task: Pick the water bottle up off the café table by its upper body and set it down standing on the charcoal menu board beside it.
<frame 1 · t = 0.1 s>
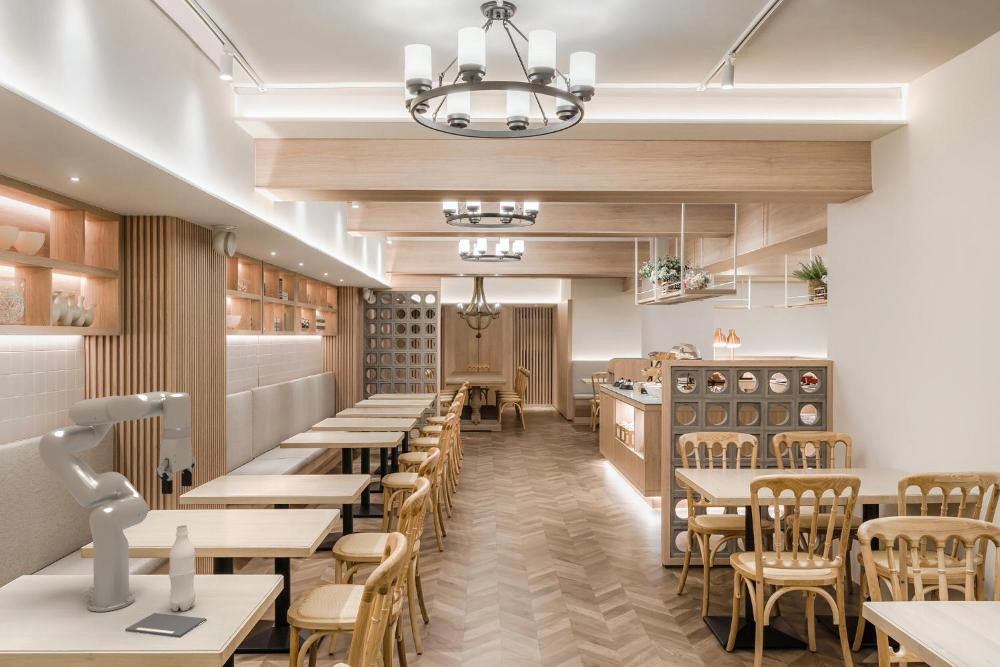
hand: (177, 489, 200), 37 cm above the table, tool pointing down, fingers open, 9 cm apart
menu board: (166, 625, 189), on the table
water bottle: (182, 608, 201), on the table
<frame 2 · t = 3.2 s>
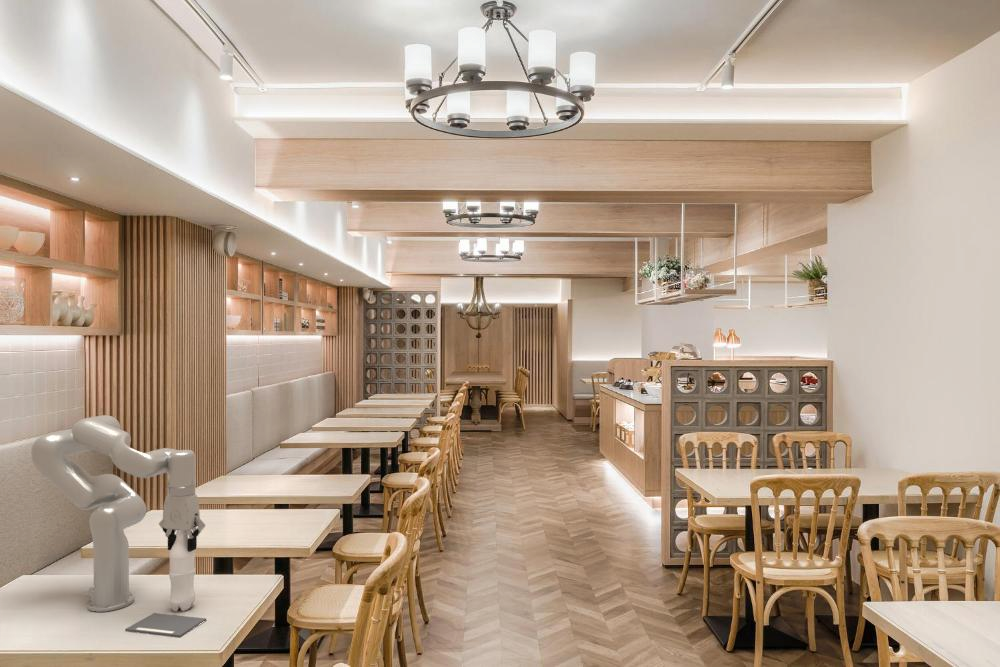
hand: (182, 549, 201), 18 cm above the table, tool pointing down, fingers closed on water bottle, 6 cm apart
water bottle: (182, 608, 201), on the table, touching gripper
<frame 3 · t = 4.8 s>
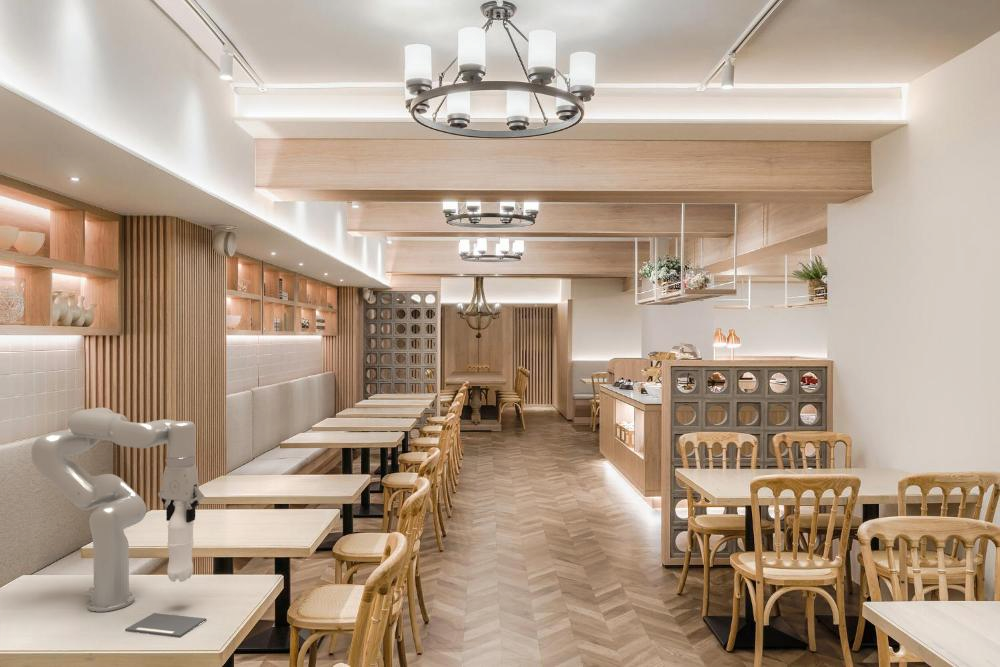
hand: (180, 519, 202), 27 cm above the table, tool pointing down, fingers closed on water bottle, 6 cm apart
water bottle: (180, 579, 202), point 9 cm above the table, touching gripper
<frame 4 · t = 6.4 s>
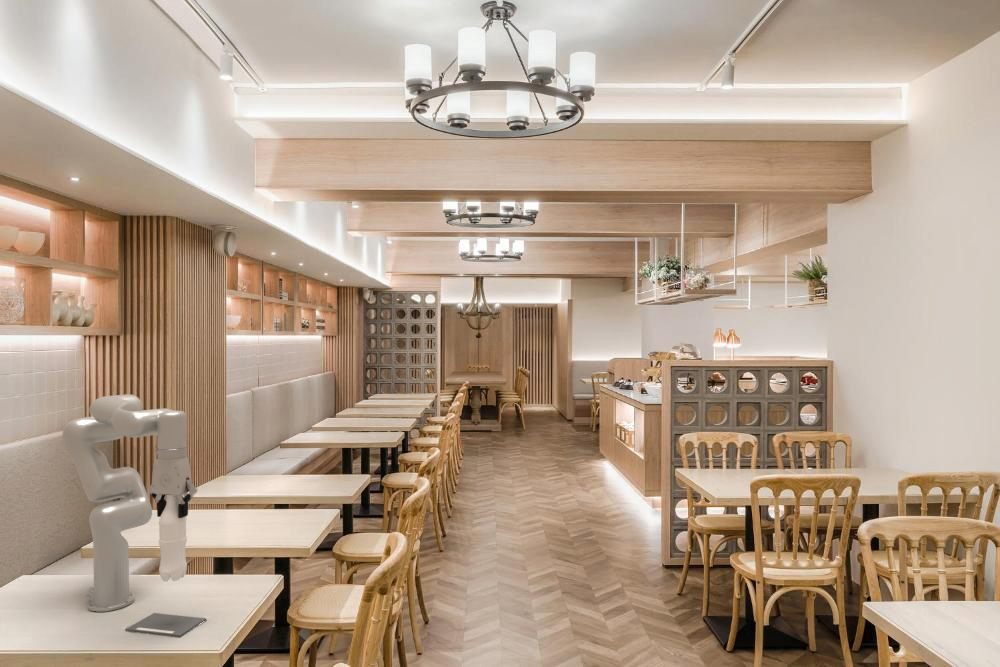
hand: (172, 515, 190), 32 cm above the table, tool pointing down, fingers closed on water bottle, 6 cm apart
water bottle: (173, 579, 190), point 13 cm above the table, touching gripper
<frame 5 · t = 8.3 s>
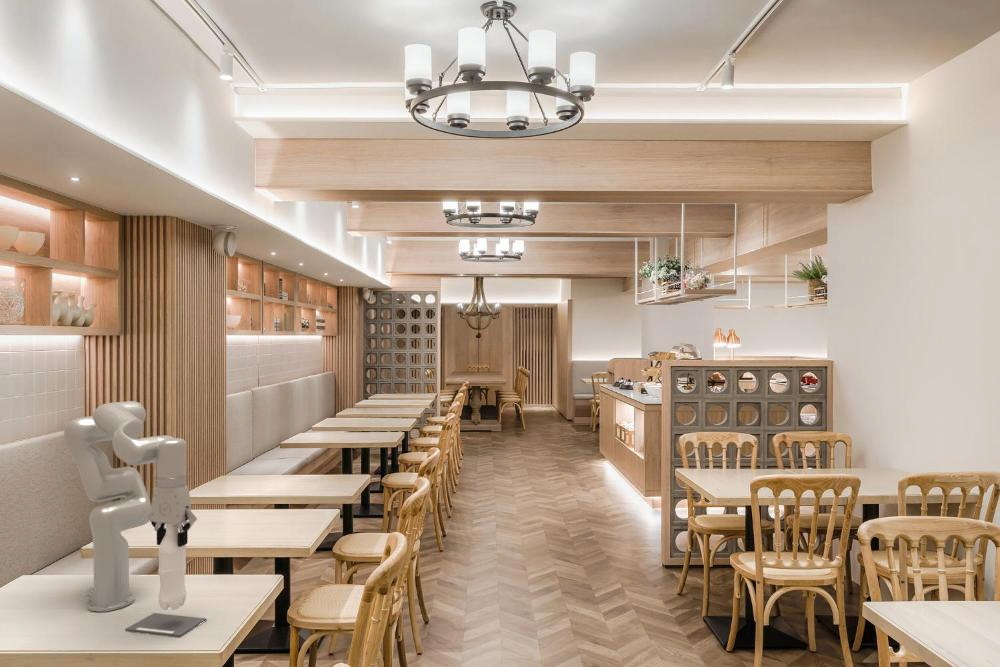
hand: (172, 543, 189), 24 cm above the table, tool pointing down, fingers closed on water bottle, 6 cm apart
water bottle: (172, 607, 189), point 5 cm above the table, touching gripper
when the fingers open (20 cm above the table, at t = 9.8 s): water bottle drops 1 cm, resting on menu board.
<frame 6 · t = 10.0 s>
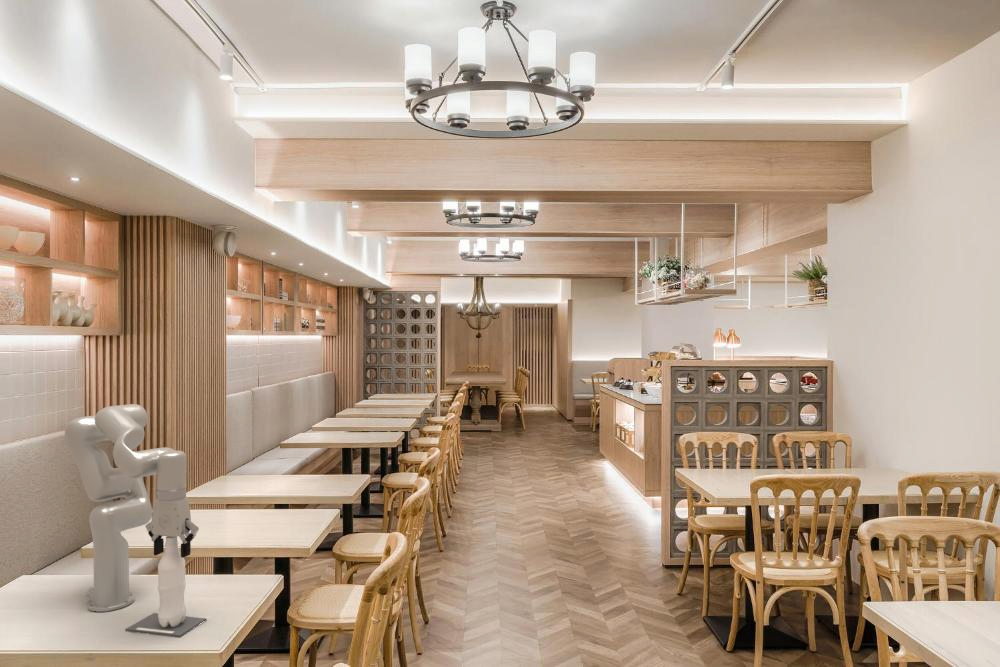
hand: (172, 554, 189), 21 cm above the table, tool pointing down, fingers open, 8 cm apart
water bottle: (172, 624, 189), resting on menu board
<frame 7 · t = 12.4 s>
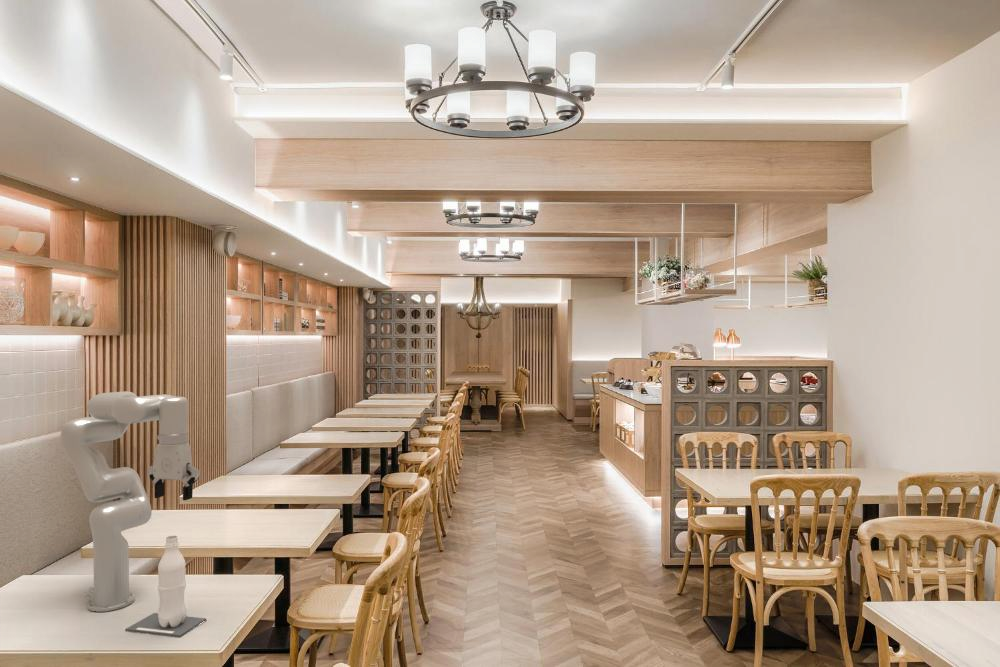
hand: (173, 498, 191), 36 cm above the table, tool pointing down, fingers open, 9 cm apart
nothing on the table moved.
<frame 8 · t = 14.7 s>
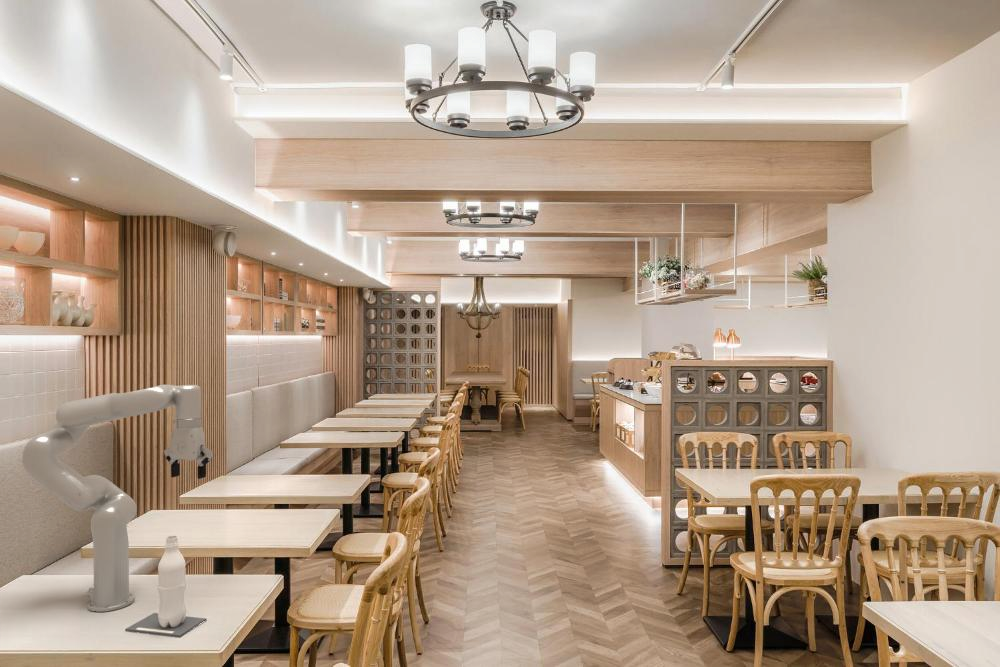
hand: (188, 477, 210), 38 cm above the table, tool pointing down, fingers open, 9 cm apart
nothing on the table moved.
at the end: water bottle inside the target area on the menu board (1.9 cm from its centre), point 0.4 cm above the menu board's base; water bottle tilted 0°; the gripper is holding nothing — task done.
